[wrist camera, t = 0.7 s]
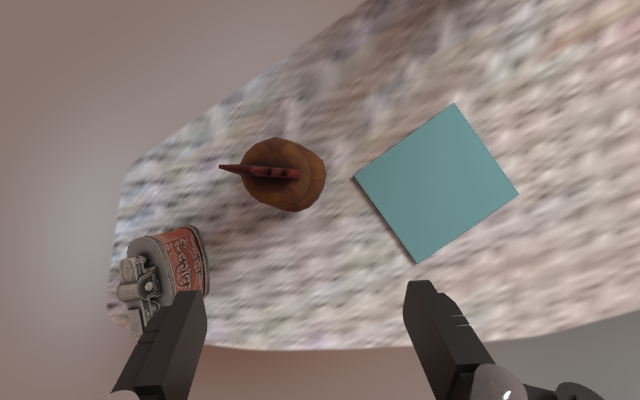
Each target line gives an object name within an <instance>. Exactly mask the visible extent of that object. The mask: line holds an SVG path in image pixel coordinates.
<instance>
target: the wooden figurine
mask: <svg viewBox="0 0 640 400" xmlns="http://www.w3.org/2000/svg"><path fill="white" fill-rule="evenodd" d="M219 168H220V169H223V170H226V171H229V172H233V173H236V174H239V175H241V178H242V180H243V183H244V186H245V188H246V189H247V190H248V191H249V193H250V194H251V195H252V196H253V197H254V198H256V199H257V200H258V201H260V202H261V203H265V204H268V205H271V206H274V207H276V208H279V209H281V210H286V211H292V212H298V211H301V210H304V209H307V208H309V207H310V206H311V205H312V204H313V203H314V202H315V201H316V200H317V199H318V198H319V196H320V194H321V192H322V190H323V188H324V184H325V179H326V170H325V167H324V163H323V160H322V159H320V158H319V157H318V156H317V155H315V154H314V153H313V152H312V151H310V150H308V149H306V148H305V147H303V146H301V145H299V144H297V143H294V142H292V141H289V140H286V139H281V138H277V137H274V138H271V139H268V140H265V141H262V142H260V143H257V144H255V145H254V146H253V147H252V148H250V149H249V150H248V151H247V152H246V154H245V156H244V158H243V160H242V161H241V163H240V164H236V165H219Z"/></svg>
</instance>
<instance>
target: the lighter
mask: <svg viewBox="0 0 640 400" xmlns="http://www.w3.org/2000/svg"><path fill="white" fill-rule="evenodd" d="M119 270H120V275H121V281H120V284H119V286H118V288H117V295H118V298H119V300H120V301H123V302H124V303H126V308H127V313H128V319H129V324H130V329H131V335H132V338H133V339H135V340H139V338H140V337H141V335H142V334H143V331H144V329H145V327H146V325H147V323H148V321H149V319H150V318H151V317H152V316H153V315H154V314H155V313H156V312H157V311H158V310H159V309H160V308H161V307H162V306H171V304H172V302H173V300H174V298H175V296H176V294H177V292H178V291H183V290H201V292H202V297H203V299H204V298H205V297H206V296H207V295H208V293H209V286H210V273H209V264H208V258H207V253H206V249H205V245H204V243H203V240H202V237H201V235H200V232H199V230H198V229H197V228H196V227H195V226H192V225H184V226H181V227H178V228H176V229H175V230H173V231H170V232H166V233H163V234H159V235H156V236H145V237H141V238H138V239H135V240H134V241H132V242H131V243H130V245H129V246H128V251H127V258H126V259H123V260H121V261H120V262H119Z"/></svg>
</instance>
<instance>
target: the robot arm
mask: <svg viewBox="0 0 640 400" xmlns="http://www.w3.org/2000/svg"><path fill="white" fill-rule="evenodd" d="M403 320H404V324H405V326H406V329H407V331H408V334H409V336H410V338H411V341H412V343H413V346H414V348H415V350H416V353H417V355H418V358H419V360H420V362H421V365H422V367H423V369H424V372H425V374H426V376H427V379H428V381H429V384H430V386H431V388H432V391H433V393H434V396H435V398H436V400H604V399H603V398H602V397H600V396H599V395H598V394H596V393H595V392H594V391H592V390H590V389H588V388H587V387H584V386H582V385H580V384H576V383H571V382H564V383H561V384H560V385H559V386H558V387H557V389H556V391H555V392H554V391H550V390H545V389H541V388H537V387H533V386H529V385H526V384H523V383H521V382H520V380H519V379H518V378H517V377H516V376H515V375H513V374H512V373H511V372H510V371H508V370H507V369H505V368H503V367H501V366H498V365H496V364H495V362H494V361H493V359H492V358H491V356H490V355H489V353H488V352H487V350H486V349H485V347H484V346H483V344H482V343H481V341H480V340H479V338H478V336H477V335H476V333H475V332H474V330H473V329H472V327H471V326H469V323H468V321H467V320H466V318H465V317H464V316H463V314H462V312H461V310H460V309H459V307H458V306H457V304H456V303H455V302H454V301H453V300H452V299H450V298H449V297H448V296H447V295H446V294H444V293H437V291H436V289H435V288H434V286H433V285H432V283H431V282H430V281H429V280H417V281H409V282H408V285H407V290H406V295H405V300H404V306H403ZM206 333H207V316H206V311H205V306H204V301H203V297H202V292H201V290H183V291H178V292H177V294H176V296H175V298H174V300H173V302H172V304H171V306H162V307H161V308H160V309H159V310H158V311H157V312H156V313H155V314H154V315H153V316H152V317H151V318H150V319H149V321H148V323H147V325H146V327H145V329H144V331H143V334H142V335H141V337H140V338H139V341H138V344H137V345H136V346H135V348H134V350H133V352H132V354H131V356H130V358H129V360H128V362H127V363H126V366H125V367H124V369H123V371H122V373H121V375H120V377H119V379H118V381H117V383H116V385H115V386H114V388H113V390H112V392H111V393H110V394H109V395H107V396H105V397H103V398H102V399H100V400H187V398H188V395H189V392H190V388H191V385H192V381H193V378H194V375H195V371H196V368H197V364H198V361H199V358H200V354H201V351H202V347H203V344H204V341H205V337H206Z"/></svg>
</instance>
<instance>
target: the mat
mask: <svg viewBox="0 0 640 400" xmlns="http://www.w3.org/2000/svg"><path fill="white" fill-rule="evenodd" d="M353 176H354V177H355V179H356V180H357V181H358V183H359V184H360V186H361V187H362V188H363V190H364V191H365V193H366V194H367V195H368V197H369V198H370V199H371V201H372V202H373V204H374V205H375V206H376V208H377V209H378V211H379V212H380V213H381V215H382V216H383V218H384V219H385V220H386V222H387V223H388V224H389V226H390V227H391V229H392V230H393V231H394V233H395V234H396V236H397V237H398V238H399V240H400V241H401V242H402V244H403V245H404V247H405V248H406V249H407V251H408V252H409V254H410V255H411V256H412V258H413V259H414V260H415V262H416V263H417V264H418V263H420V262H421V261H423V260H424V259H426V258H427V257H429V256H430V255H431V254H433V253H434V252H436V251H437V250H439V249H440V248H442V247H443V246H445V245H446V244H447V243H449V242H450V241H452V240H453V239H455V238H456V237H458V236H459V235H461V234H462V233H463V232H465V231H466V230H468V229H469V228H471V227H472V226H474V225H475V224H477V223H478V222H480V221H481V220H482V219H484V218H485V217H487V216H488V215H490V214H491V213H493V212H494V211H496V210H497V209H498V208H500V207H501V206H503V205H504V204H506V203H507V202H509V201H510V200H512V199H513V198H514V197H516V196H517V195H519V193H518V192H517V191H516V189H515V188H514V186H513V185H512V183H511V182H510V181H509V179H508V178H507V176H506V175H505V174H504V172H503V171H502V169H501V168H500V167H499V165H498V164H497V162H496V161H495V160H494V158H493V157H492V155H491V154H490V153H489V151H488V150H487V148H486V147H485V146H484V144H483V143H482V141H481V140H480V138H479V137H478V136H477V134H476V133H475V131H474V130H473V129H472V127H471V126H470V124H469V123H468V122H467V120H466V119H465V117H464V116H463V115H462V113H461V112H460V110H459V109H458V108H457V106H456V105H455V103H453V104H452V105H450V106H449V107H447V108H446V109H445V110H443V111H442V112H441V113H439V114H438V115H436V116H435V117H434V118H432V119H431V120H430V121H428V122H427V123H425V124H424V125H423V126H421V127H420V128H418V129H417V130H416V131H414V132H413V133H412V134H410V135H409V136H407V137H406V138H405V139H403V140H402V141H400V142H399V143H398V144H396V145H395V146H394V147H392V148H391V149H389V150H388V151H387V152H385V153H384V154H382V155H381V156H380V157H378V158H377V159H376V160H374V161H373V162H371V163H370V164H369V165H367V166H366V167H365V168H363V169H362V170H360V171H359V172H358V173H356V174H355V175H353Z"/></svg>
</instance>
